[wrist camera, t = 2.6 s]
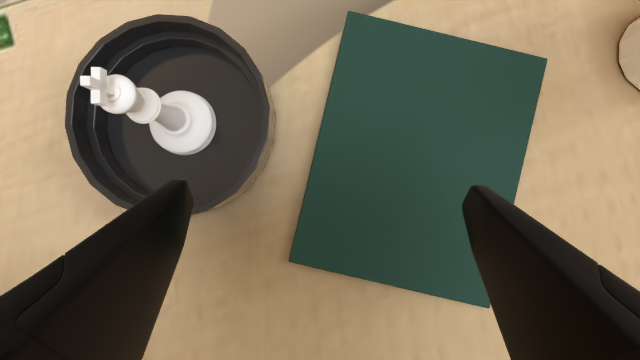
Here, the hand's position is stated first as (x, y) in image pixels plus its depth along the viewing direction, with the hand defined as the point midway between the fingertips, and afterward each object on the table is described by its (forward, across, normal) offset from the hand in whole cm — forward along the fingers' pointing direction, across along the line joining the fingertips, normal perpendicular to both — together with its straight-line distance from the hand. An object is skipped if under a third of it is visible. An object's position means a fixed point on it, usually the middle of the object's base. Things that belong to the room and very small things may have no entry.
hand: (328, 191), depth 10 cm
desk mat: (+12, -8, +8) cm, 16 cm away
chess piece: (+14, +11, +6) cm, 18 cm away
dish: (+14, +11, +6) cm, 18 cm away
